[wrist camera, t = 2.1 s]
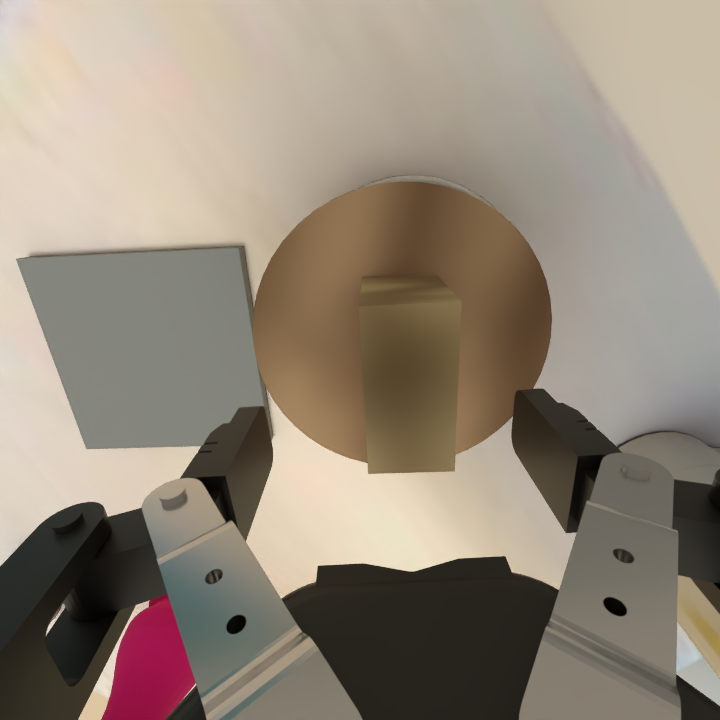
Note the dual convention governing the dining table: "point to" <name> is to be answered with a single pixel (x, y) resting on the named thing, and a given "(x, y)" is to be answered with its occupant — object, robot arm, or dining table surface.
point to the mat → (149, 342)
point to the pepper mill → (150, 667)
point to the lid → (401, 325)
